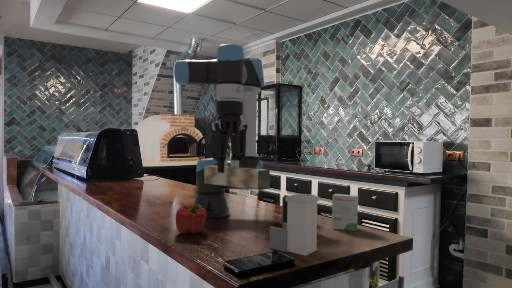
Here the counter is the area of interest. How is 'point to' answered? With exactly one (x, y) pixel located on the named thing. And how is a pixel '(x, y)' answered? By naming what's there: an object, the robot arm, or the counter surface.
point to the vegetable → (190, 219)
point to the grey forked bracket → (297, 226)
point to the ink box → (344, 212)
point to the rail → (239, 177)
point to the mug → (284, 209)
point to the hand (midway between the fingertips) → (228, 183)
